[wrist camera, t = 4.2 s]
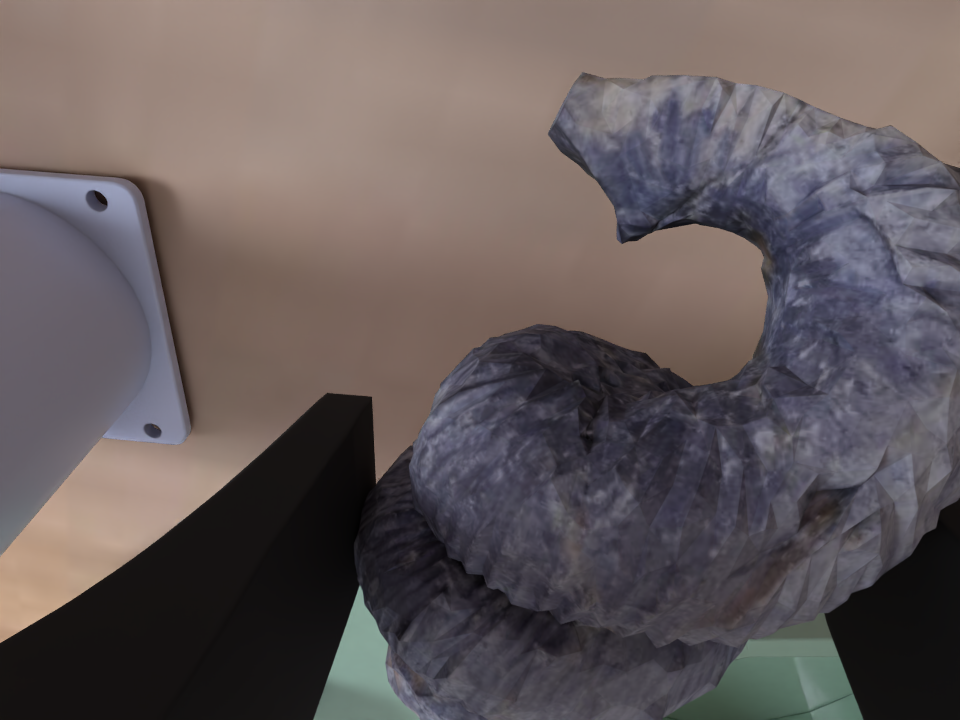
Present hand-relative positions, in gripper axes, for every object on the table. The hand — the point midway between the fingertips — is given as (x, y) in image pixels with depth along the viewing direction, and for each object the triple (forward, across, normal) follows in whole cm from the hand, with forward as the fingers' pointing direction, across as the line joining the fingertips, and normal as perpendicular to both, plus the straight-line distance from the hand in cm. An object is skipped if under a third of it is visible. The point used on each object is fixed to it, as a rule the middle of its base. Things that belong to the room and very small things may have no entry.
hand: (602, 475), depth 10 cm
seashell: (+2, 0, 0) cm, 2 cm away
